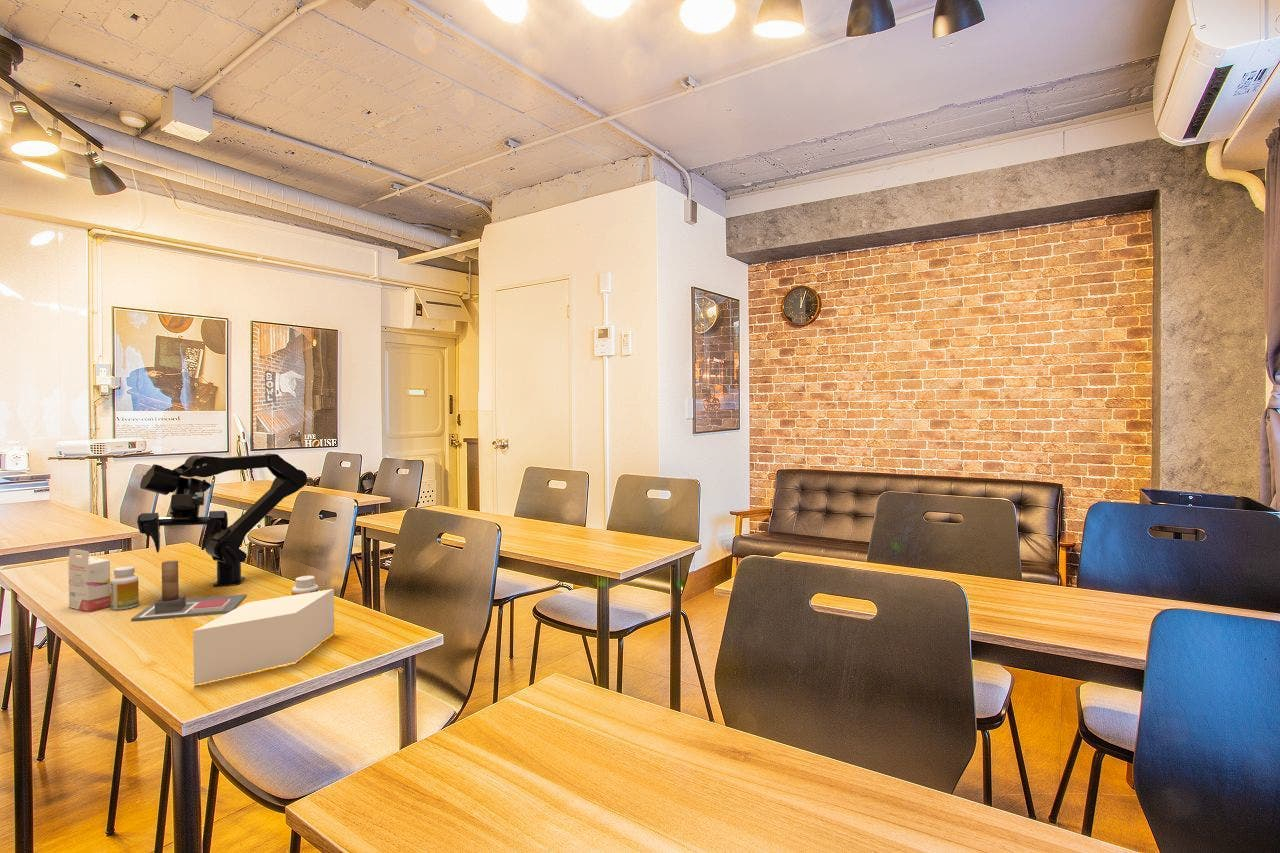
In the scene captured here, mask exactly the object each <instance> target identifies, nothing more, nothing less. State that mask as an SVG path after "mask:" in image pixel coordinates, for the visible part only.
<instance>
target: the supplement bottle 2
mask: <svg viewBox="0 0 1280 853" xmlns="http://www.w3.org/2000/svg"><path fill="white" fill-rule="evenodd" d="M319 589H320V588H319V585H318V584H316V577H315V576H314V575H302V576H299V577H296V578H295V586H293V587H292V588H291V596H292V595H299V594H305V593H311V592H317V591H320V590H319Z"/></svg>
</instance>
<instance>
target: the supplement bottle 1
mask: <svg viewBox="0 0 1280 853" xmlns="http://www.w3.org/2000/svg"><path fill="white" fill-rule="evenodd" d="M135 569H136V568H135V566H134V565H133V566H132V565H130V566H120V567H116V568H114V569H113V575H114V576H115V577H112V578H110V593H111V607H110V609H111V610H112V611H121V610H123V609H124V610H130V609H132V608H133V609H134V608H136V607H137V606H139V604H140V600H139V599H140V597H139V595H140V594H139V593H140V592H139V591H140V590H139V577H138V575H136V574H135ZM129 608H130V609H129Z"/></svg>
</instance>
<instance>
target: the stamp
mask: <svg viewBox="0 0 1280 853" xmlns="http://www.w3.org/2000/svg"><path fill="white" fill-rule="evenodd" d="M179 588H180V587H179V561H178V560H167V561H163V562H161V597H159V598H158V600H156V601H157V602H156V603H155V614H157V613H167V612H177V611H181V610H182V609H183V608H184V607H185V605H186V599H187V598H186V597H187V596H186V595H185V594H183V595H182V594H181V595H179V594H180V593H179Z"/></svg>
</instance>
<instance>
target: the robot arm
mask: <svg viewBox="0 0 1280 853" xmlns="http://www.w3.org/2000/svg"><path fill="white" fill-rule="evenodd" d="M264 468H265V469H266V468H267V470H268V471H269V472H270V473H271V474H272V476H274V477H275V478H274V480H273V482H272V484H271V486H270V487H269V490H267V491H266V492H264V494H263V495H262V496H260V498H259V499H258V500H257V501H256V502H254V504H253V505H251V506H250V507H249V508H248V509H247V510H246V511H245V512H244V513H243V514H241V516H240V517H239V518H237V519H236V520H235V521H234V523H232V524H230V525H228V524H229V519H228V513H227V511H225V510H210V511H209V512H208V516H199V515H200V507H201V506H204V505H205V492H207V491H208V490H209V489H210V488H212V484H211V483H210V482H208V481H206V479H203V480H202V479H197V478H198V477H199V478H209V477H213V476H217V475H220V474H223V473H226V472H229V471H240V470H241V471H242V470H251V469H252V470H253V469H264ZM194 477H197V478H194ZM140 480H141V481H140V483H139V488H140V490H145V491H148V492H152V493H155V494H160V495H163V496H167V495H169V494H170V493H172V495H171V498H170V509H169V515H171V517H160V515H159V512H144V513H140V514H139V515H138V516H137V521H136V522H137V527H138V531H139V533H140V534H145V536H147V537H150V538H151V539H152V540H153V543H154V548H155V550H156V553H160V549H161V530H160V529H161V527H166V526H169V527H170V526H202V525H205V530H204V533H203V536H202V540H201V541H202V542H201V545H200V546H201V549H200V550H201V551H204V550H205V552H206V553H207V554H208V555H209V556H211V558H212V560H213V562H214V561H215V562H216V581H215V582H214V583H212V587H219V586H220V587H221V586H235V585H240V584H241V583H242V582H243V581H245V580H246V577H245V576H242V563H243V562H246V558H247V556H248V554H247V553H246V552H244V551H243V550H242V549H241V546H242V545H243V543H244V541H245V538H246V536H247V534H248V533H250V531H251V530H253V529H254V527H256V526H257V524H259V523H260V522H261V521H262V520H263V519H264V518H265V517H266V516H267V515H268V514H269V513H270V512H271V511H272V510H273V509H274V508H275V507H276V506H278V504H279V503H280V502H281V501H282V500H284V499H285V498H287V497H289V496H291V495H293V494H294V493H297V492H298V491H300V490H301V489H302V488H304V487H305V486H306V484H307V483H308V476H307V474H306V471H304V470H302V469H297V467H295V466H294V465H292V464H291V463H289V462H288V461H286V460H285V459H284V458H282V456H280V455H279V454H278V453H277V454H276V453H269V452H268V453H265V454H255V455H253V454H252V455H242V456H241V455H240V456H227V457H225V456H224V457H221V456H219V457H218V456H211V455H210V456H209V455H197V454H195V455H190V456H188V458H187V459H186V460H185V462H184V463H183V464H181V465H179V466H177V467H175V468H174V469H170V468H166V467H164V466H162V465H159V464H155V463H154V464H152V465H151V468H150V469H148V470H147V471H146V473H145V474H143V476H142V478H141V479H140ZM174 492H175V493H174ZM173 493H174V494H173Z"/></svg>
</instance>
